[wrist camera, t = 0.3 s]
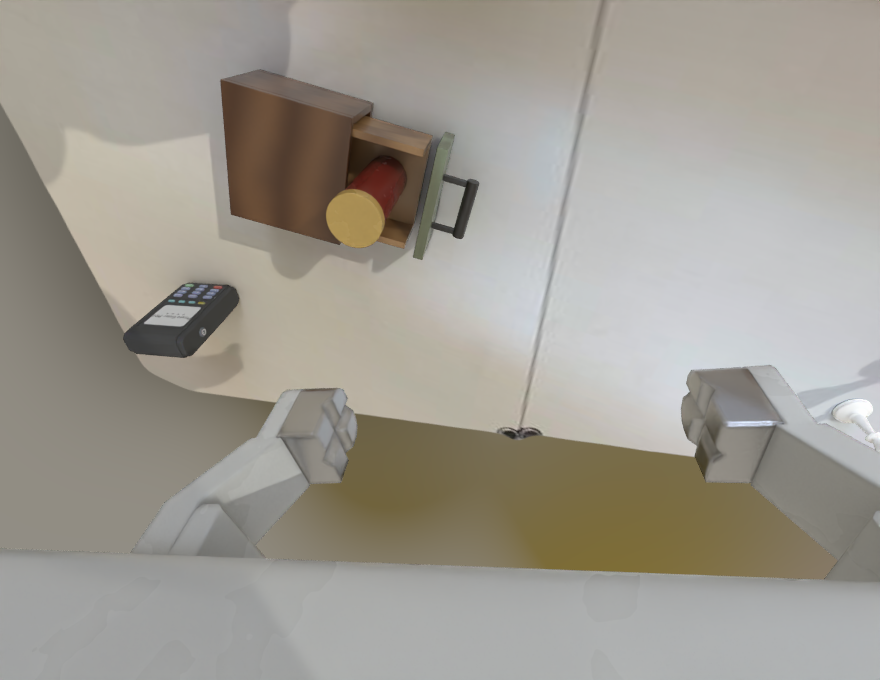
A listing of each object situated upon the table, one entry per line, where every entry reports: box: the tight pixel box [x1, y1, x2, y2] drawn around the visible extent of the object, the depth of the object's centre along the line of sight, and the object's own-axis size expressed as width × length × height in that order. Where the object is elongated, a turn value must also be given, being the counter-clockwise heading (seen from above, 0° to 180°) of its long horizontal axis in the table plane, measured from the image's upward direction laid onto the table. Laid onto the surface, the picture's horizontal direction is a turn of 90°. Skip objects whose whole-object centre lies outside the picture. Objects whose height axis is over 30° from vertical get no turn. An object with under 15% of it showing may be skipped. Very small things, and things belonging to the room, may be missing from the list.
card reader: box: [123, 283, 239, 358], centre depth 65 cm, size 9×4×15 cm, turn 91°
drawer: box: [347, 116, 479, 260], centre depth 52 cm, size 17×13×7 cm
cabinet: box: [221, 70, 373, 245], centre depth 51 cm, size 14×15×9 cm
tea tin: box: [326, 155, 407, 248], centre depth 48 cm, size 6×6×14 cm
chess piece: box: [833, 399, 880, 452], centre depth 64 cm, size 5×5×10 cm
